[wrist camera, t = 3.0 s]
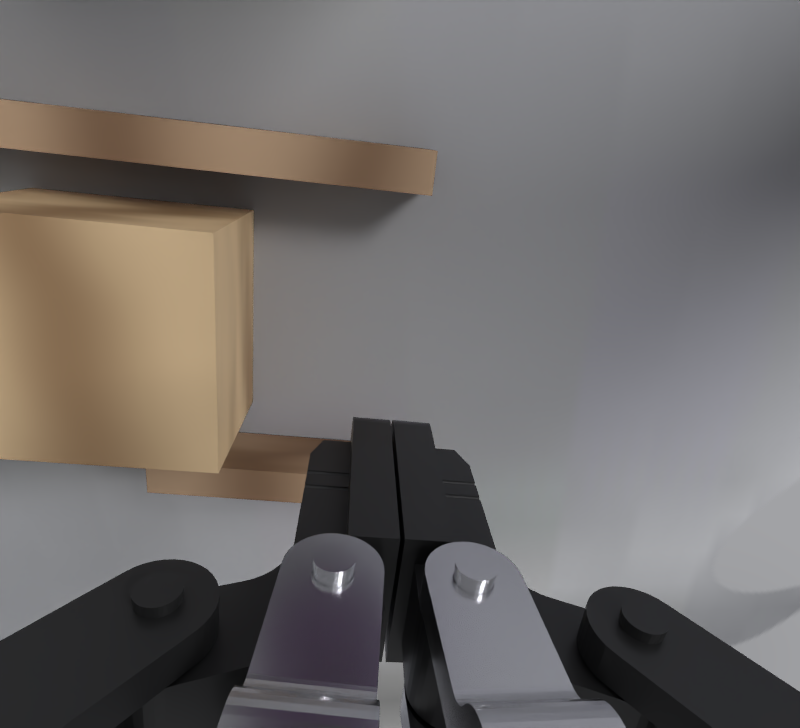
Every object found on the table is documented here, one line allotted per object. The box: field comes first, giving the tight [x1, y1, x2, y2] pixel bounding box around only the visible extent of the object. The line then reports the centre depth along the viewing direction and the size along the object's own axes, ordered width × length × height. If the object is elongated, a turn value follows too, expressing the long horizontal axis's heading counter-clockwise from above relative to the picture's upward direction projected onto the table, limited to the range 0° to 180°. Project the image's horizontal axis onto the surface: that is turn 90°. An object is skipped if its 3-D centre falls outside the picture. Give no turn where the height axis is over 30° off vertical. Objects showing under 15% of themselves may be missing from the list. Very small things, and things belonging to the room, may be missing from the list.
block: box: [0, 188, 254, 473], centre depth 17 cm, size 7×7×5 cm
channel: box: [0, 99, 438, 503], centre depth 17 cm, size 23×12×4 cm, turn 84°
